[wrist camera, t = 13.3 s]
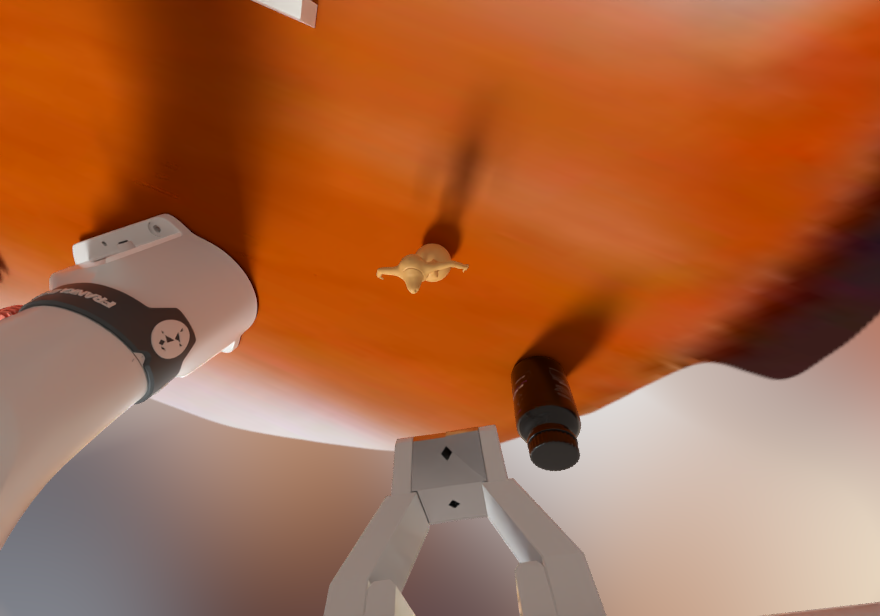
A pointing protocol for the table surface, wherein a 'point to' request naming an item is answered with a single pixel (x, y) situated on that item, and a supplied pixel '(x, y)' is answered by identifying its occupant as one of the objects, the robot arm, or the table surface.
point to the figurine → (423, 266)
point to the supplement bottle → (546, 413)
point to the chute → (293, 9)
